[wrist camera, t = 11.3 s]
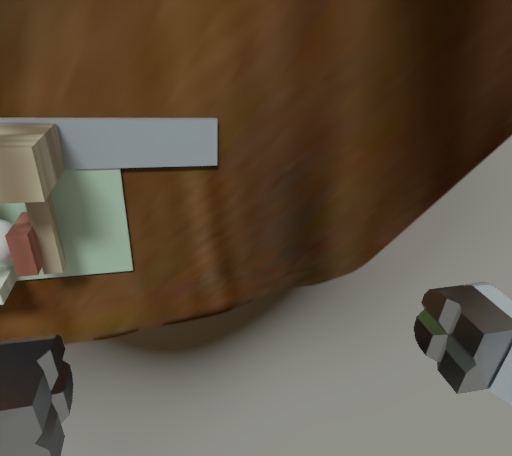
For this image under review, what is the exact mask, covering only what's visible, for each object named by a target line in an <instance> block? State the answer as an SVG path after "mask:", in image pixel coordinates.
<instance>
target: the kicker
mask: <svg viewBox="0 0 512 456" xmlns="http://www.w3.org/2000/svg"><path fill="white" fill-rule="evenodd" d="M64 169H65V167H64V162H63V157H62V152H61V147H60V142H59V137H58V132H57V127H56V123H0V204H6V203H25V206H26V210H27V212H21V214H20V215H19V217H18V218H17V220H16V221H15V223H14V224H13V225H12V227H11V228H10V230H9V231H8V233H7V234H6V236H5V238H6V241H7V244H8V247H9V251H10V254H11V257H12V260H13V263H14V267H15V270H16V273H17V276H18V277H20V276H32V275H38V274H39V272H40V270H41V268H42V269H43V273H44V274H55V273H63V272H64V269H65V266H66V259H65V254H64V250H63V245H62V241H61V237H60V232H59V228H58V224H57V219H56V215H55V211H54V206H53V202H52V197H51V193H50V192H51V191H52V189H53V187H54V186H55V184H56V182H57V181H58V179H59V177H60V176H61V174H62V173H63V171H64Z"/></svg>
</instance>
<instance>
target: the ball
mask: <svg viewBox="0 0 512 456" xmlns="http://www.w3.org/2000/svg"><path fill="white" fill-rule="evenodd" d="M12 225H13V224H12V223H10V222H8V221H6V220H2V219H0V263H3V262H6V261H8V260H10V259H12V257H11V254H10V251H9V247H8V244H7V241H6V238H5V236H6V234H7V233H8V231H9V230H10V228H11V227H12Z"/></svg>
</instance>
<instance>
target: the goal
mask: <svg viewBox="0 0 512 456" xmlns="http://www.w3.org/2000/svg"><path fill="white" fill-rule="evenodd" d="M17 279H18V278H17V275H16V272H15V269H14V266H8V267H0V305H4V303H5V301H6V299H7V297H8V295H9V294H10V292H11V290H12V288H13V286H14V284H15V282H16V280H17Z"/></svg>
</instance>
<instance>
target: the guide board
mask: <svg viewBox="0 0 512 456" xmlns="http://www.w3.org/2000/svg"><path fill="white" fill-rule="evenodd" d="M0 123H56V127H57V132H58V137H59V142H60V147H61V152H62V157H63V162H64V167H65V169H64V170H71V169H108V168H144V167H181V166H217V118H0Z"/></svg>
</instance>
